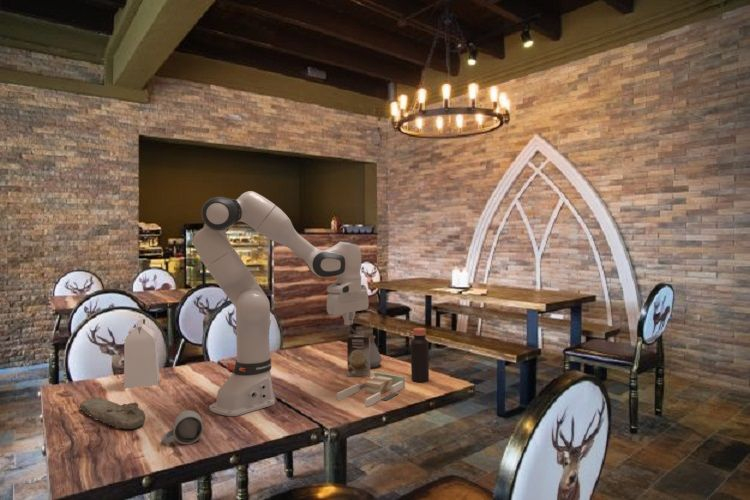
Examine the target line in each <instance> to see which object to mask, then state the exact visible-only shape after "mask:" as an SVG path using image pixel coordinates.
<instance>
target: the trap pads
mask: <svg viewBox="0 0 750 500" xmlns="http://www.w3.org/2000/svg"><path fill="white" fill-rule="evenodd" d="M359 386H360V390H362V389H365V383H363V384H359ZM398 395H399V393H397V392H395V393H389V394H388V395H386V396H385V397H383V398H382V397H381V400H380V401H383V402H387V401H389V400H391V399H392V398H394V397H396V396H398Z"/></svg>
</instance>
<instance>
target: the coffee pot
mask: <svg viewBox="0 0 750 500" xmlns="http://www.w3.org/2000/svg"><path fill="white" fill-rule="evenodd" d="M349 329H350V330H349ZM348 331H351V332H352V334H359V333H358V332H357V331H356V330H354V328H353V327H351V326H349V327H348V328H347V332H348ZM375 339H376V335H373V334H370V369H375V368H377V367H378V366H380V364H381V362H382V361H383V360H382V356H381V354H380V352H379V350H378V347H377V344H376V343H375Z"/></svg>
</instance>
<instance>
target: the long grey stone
mask: <svg viewBox="0 0 750 500" xmlns="http://www.w3.org/2000/svg"><path fill="white" fill-rule="evenodd" d="M80 408H81V410H82V411H81V410H80V411H81V412H83V411H84V412H85V413H84V412H83V413H84V414H85V415H87V416H88V415H91V416H92V417H93V418H92V417H91V416H90V417H91V418H92V419H94V418H95V419H98V420H100V421H99V422H101V421H103V422H102V424H104V423H106V424H105V425H107V424H110V425H113V426H116V427H118V429H121V428H123V429H122V430H133V429H135V428H136V429H137V428H139V427H141V426H143V425H144V423H145V421H146V414H145V411H144V410H142V409H141V408H140V407H139V403H138V402H129V403H123V404H119V403H117V402H113V401H110V400H108V399H104V398H103V397H92V398H87V399H85V400H83V401H82V402H80V405H79V409H80ZM98 420H97V421H98ZM142 424H143V425H142ZM110 425H109V426H110Z"/></svg>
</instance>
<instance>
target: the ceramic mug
mask: <svg viewBox="0 0 750 500" xmlns="http://www.w3.org/2000/svg"><path fill="white" fill-rule="evenodd" d="M203 432H204V424H203V421H202V417H201V415H200V414H199V413H197V412H196V411H194V410H192V409H191V410H190V409H189V410H185V411H182V412H180V413H179V414H178V415H177V416H176V418H175V420H174V423H173V428H172V429H170V430H168V431H167V432H166V433H165V434H164V435H163V436H162V437H161V441H162V443H163V444H164V445H167V444H171V443H173V442H174V441H176V442H177V443H179V444H181V445H190V444H194V443H195V442H197V441H198V440H199V439H200V438H201V436H202V434H203Z"/></svg>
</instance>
